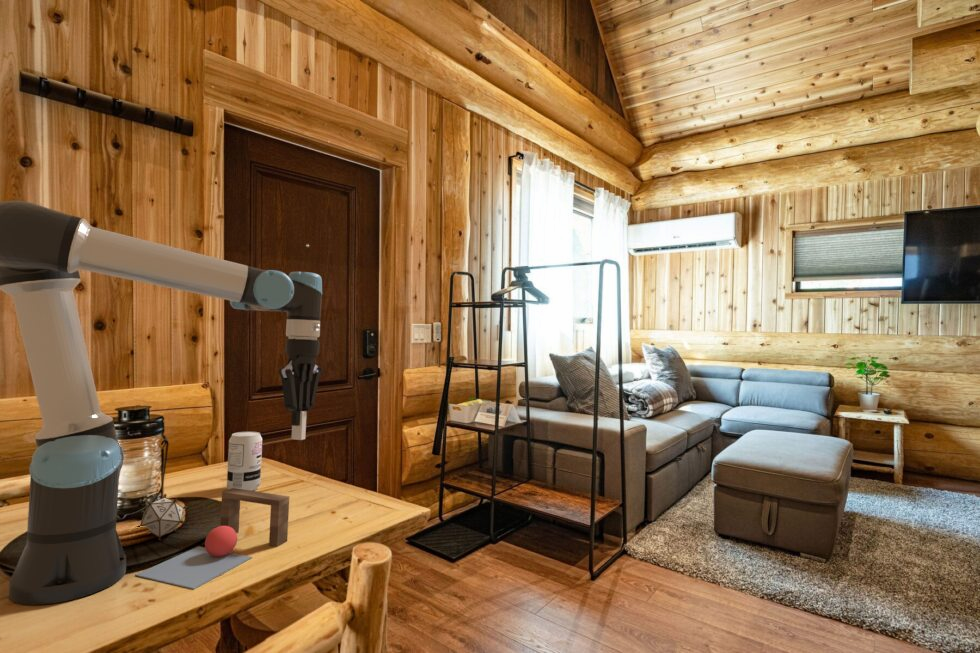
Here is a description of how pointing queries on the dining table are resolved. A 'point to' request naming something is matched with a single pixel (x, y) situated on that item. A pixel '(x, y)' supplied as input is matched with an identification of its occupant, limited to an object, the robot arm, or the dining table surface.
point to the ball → (221, 541)
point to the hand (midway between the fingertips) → (298, 438)
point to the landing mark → (193, 568)
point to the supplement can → (244, 461)
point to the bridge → (277, 502)
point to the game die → (162, 516)
